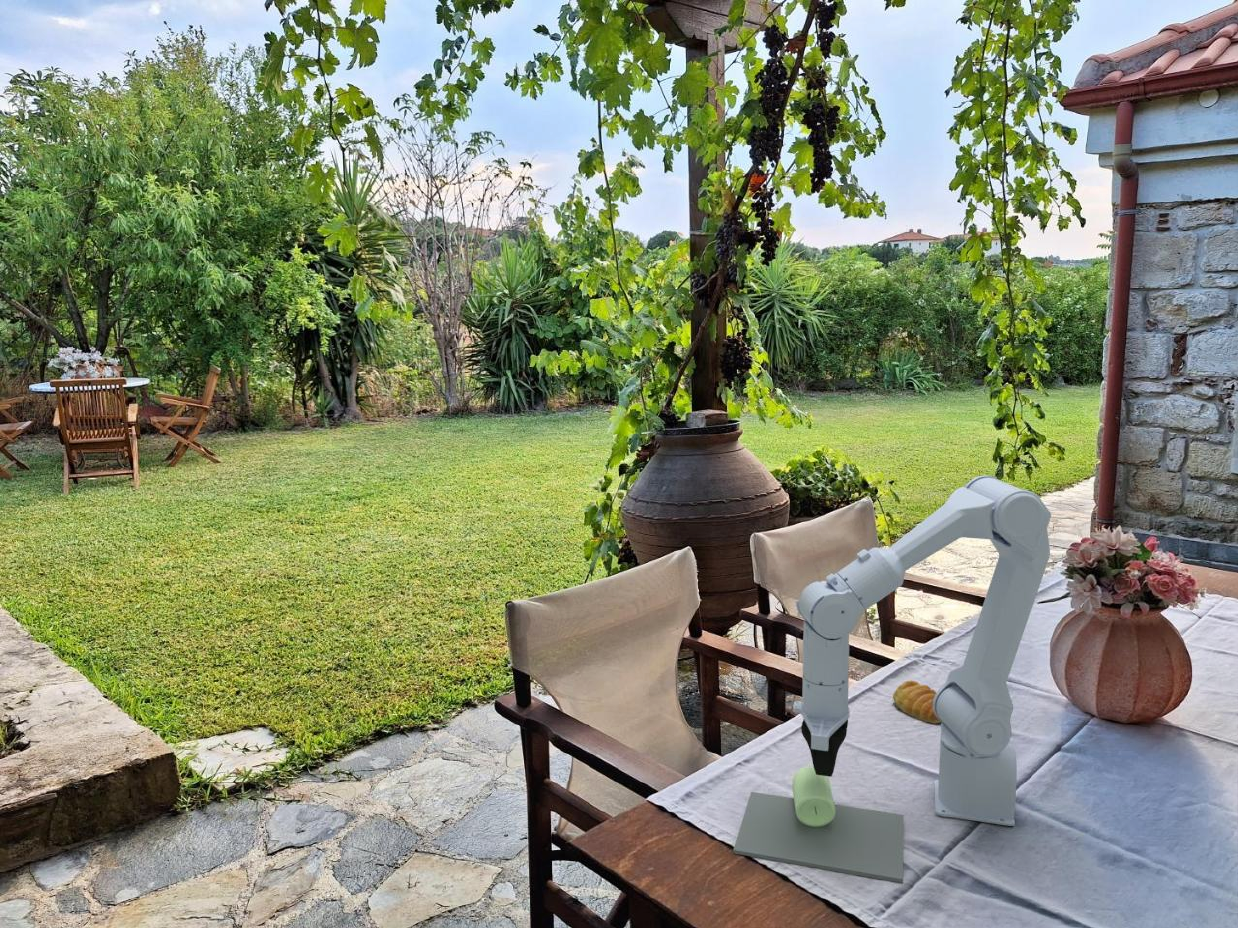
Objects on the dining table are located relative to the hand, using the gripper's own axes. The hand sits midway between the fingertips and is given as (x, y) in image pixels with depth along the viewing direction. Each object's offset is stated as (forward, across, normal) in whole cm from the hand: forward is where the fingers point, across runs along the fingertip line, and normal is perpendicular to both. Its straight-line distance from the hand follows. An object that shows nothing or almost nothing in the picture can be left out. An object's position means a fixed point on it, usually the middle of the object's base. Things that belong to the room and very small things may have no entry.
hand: (824, 772), depth 112 cm
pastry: (+7, -34, +13) cm, 37 cm away
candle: (+4, -4, -2) cm, 6 cm away
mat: (+6, +4, 0) cm, 8 cm away
